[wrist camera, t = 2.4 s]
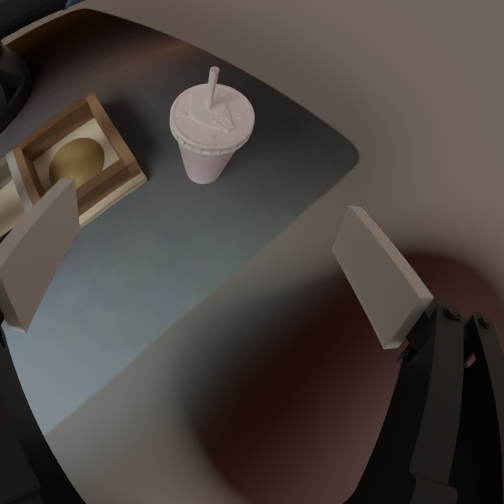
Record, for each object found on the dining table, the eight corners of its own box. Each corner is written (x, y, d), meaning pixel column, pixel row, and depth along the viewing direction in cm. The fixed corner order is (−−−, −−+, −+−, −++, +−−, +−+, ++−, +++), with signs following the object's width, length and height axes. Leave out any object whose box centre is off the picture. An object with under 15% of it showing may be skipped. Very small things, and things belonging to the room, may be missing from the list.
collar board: (-30, 214, 22) (-49, 204, 18) (99, 107, 27) (92, 87, 23) (0, 300, 22) (-20, 299, 18) (147, 181, 27) (142, 164, 23)
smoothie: (205, 131, 30) (223, 33, 16) (247, 170, 30) (291, 83, 16) (159, 166, 28) (147, 71, 14) (201, 209, 28) (217, 132, 15)
